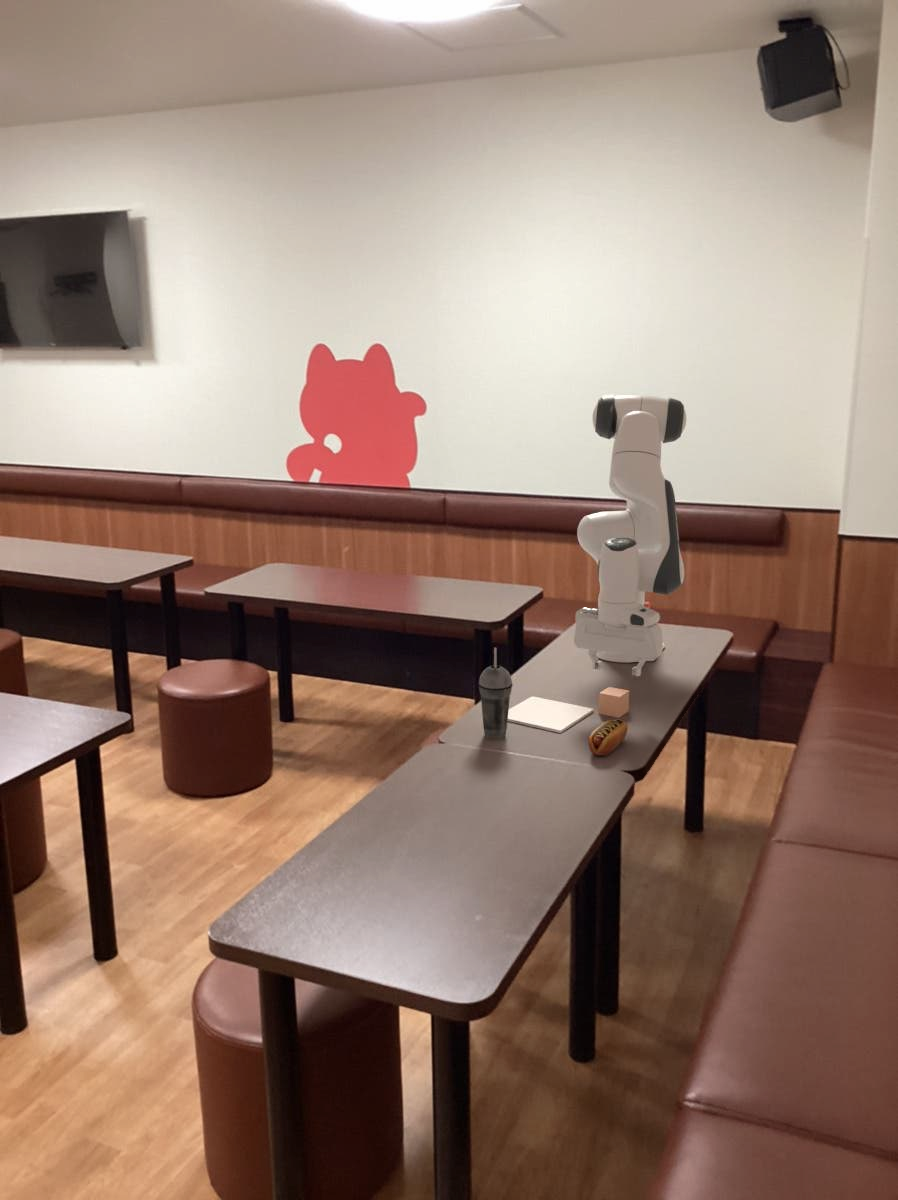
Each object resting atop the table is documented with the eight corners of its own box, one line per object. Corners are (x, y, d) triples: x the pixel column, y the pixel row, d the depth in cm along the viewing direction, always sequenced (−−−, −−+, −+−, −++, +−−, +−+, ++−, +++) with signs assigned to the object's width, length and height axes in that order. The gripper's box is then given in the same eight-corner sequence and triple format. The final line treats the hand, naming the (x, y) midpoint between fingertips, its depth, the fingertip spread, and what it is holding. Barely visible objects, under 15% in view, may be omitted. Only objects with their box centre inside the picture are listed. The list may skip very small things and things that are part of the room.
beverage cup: (512, 730, 226) (513, 641, 221) (511, 742, 219) (512, 651, 214) (479, 729, 227) (479, 640, 222) (476, 741, 220) (477, 650, 215)
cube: (608, 707, 240) (608, 686, 239) (628, 711, 238) (629, 690, 236) (598, 713, 236) (599, 692, 235) (619, 718, 234) (619, 696, 232)
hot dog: (582, 757, 212) (583, 734, 211) (607, 736, 223) (608, 714, 222) (605, 761, 210) (606, 738, 208) (630, 740, 221) (630, 718, 219)
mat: (532, 698, 246) (532, 696, 246) (593, 711, 237) (593, 708, 237) (496, 718, 233) (496, 716, 233) (560, 733, 224) (560, 730, 224)
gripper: (569, 609, 234) (568, 668, 237) (655, 620, 223) (653, 682, 226) (582, 603, 239) (580, 662, 242) (666, 614, 228) (664, 675, 231)
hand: (616, 672), depth 234 cm, fingers open, 8 cm apart
